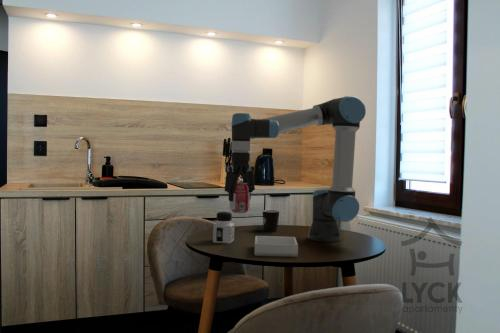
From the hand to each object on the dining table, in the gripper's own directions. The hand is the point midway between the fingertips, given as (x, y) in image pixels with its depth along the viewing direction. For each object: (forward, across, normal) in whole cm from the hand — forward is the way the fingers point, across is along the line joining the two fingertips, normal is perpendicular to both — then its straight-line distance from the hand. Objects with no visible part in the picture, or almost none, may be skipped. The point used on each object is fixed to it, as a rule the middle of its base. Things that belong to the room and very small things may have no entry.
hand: (239, 208), depth 185 cm
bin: (+17, -10, +11) cm, 22 cm away
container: (+17, -6, -17) cm, 25 cm away
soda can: (+2, 0, 0) cm, 2 cm away
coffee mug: (+17, -43, -24) cm, 53 cm away
